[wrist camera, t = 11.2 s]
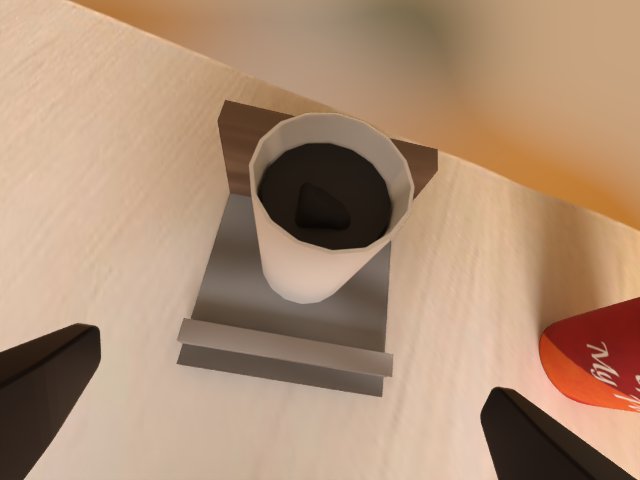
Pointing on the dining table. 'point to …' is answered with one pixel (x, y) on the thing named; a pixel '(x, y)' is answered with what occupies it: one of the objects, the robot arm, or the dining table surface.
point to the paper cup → (596, 356)
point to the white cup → (325, 201)
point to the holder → (272, 309)
